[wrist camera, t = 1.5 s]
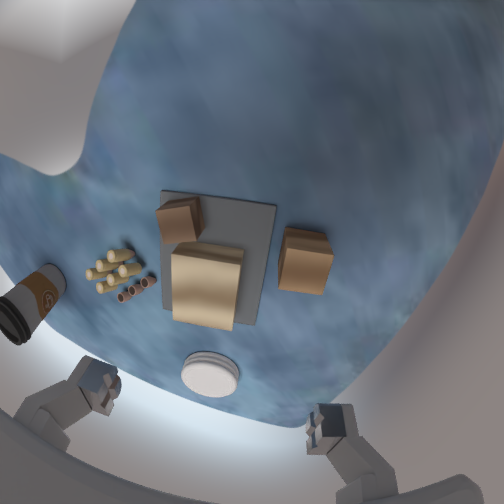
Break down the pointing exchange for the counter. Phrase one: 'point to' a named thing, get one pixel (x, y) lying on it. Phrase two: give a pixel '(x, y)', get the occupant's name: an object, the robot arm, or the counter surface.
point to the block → (180, 220)
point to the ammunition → (118, 274)
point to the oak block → (304, 261)
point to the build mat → (229, 245)
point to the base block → (205, 284)
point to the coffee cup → (30, 303)
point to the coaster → (210, 374)
